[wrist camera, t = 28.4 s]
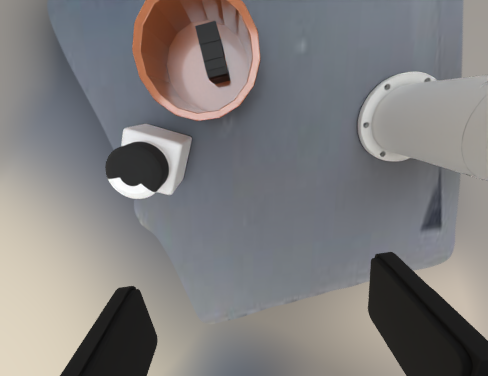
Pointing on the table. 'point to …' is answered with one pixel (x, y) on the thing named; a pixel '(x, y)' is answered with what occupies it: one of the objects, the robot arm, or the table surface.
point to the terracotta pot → (195, 55)
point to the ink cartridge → (212, 52)
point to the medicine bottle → (148, 161)
